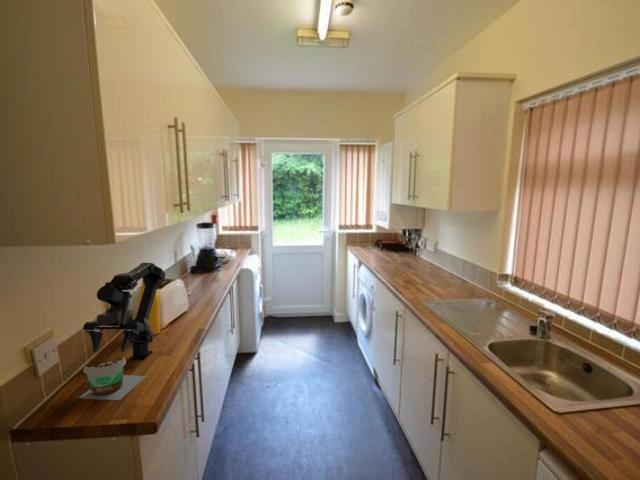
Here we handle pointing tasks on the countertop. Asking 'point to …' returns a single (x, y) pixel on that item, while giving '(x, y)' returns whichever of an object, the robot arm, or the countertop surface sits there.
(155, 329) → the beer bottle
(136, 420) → the countertop surface
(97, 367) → the food container
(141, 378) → the slate mat
